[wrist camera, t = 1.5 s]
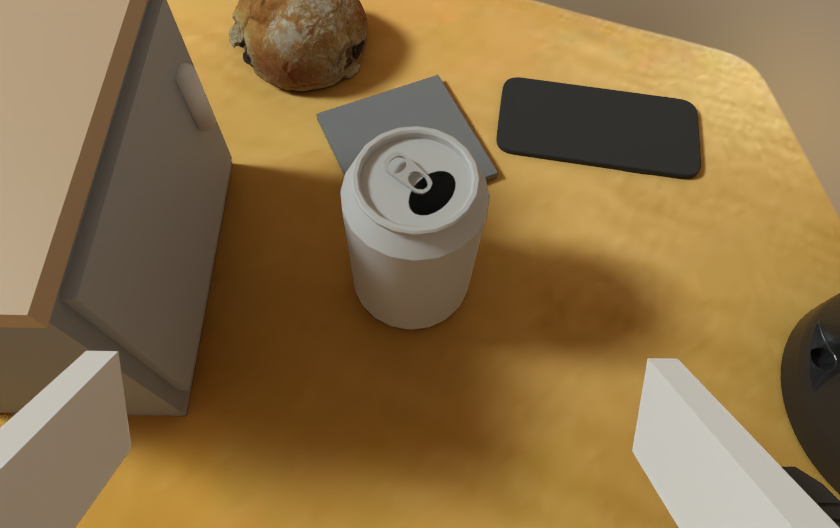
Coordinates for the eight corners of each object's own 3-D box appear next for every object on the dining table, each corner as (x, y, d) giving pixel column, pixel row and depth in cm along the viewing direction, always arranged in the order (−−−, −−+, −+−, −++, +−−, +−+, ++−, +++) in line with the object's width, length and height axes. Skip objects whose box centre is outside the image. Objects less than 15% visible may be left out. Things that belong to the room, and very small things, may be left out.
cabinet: (254, 157, 43) (173, -68, 28) (210, 425, 34) (58, 315, 19) (57, 152, 43) (-136, -79, 27) (-36, 421, 34) (-394, 306, 19)
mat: (437, 80, 47) (437, 74, 46) (496, 177, 43) (497, 172, 42) (317, 119, 45) (316, 113, 44) (367, 224, 41) (367, 220, 40)
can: (422, 357, 37) (433, 273, 26) (330, 289, 38) (303, 185, 28) (490, 271, 39) (524, 163, 29) (400, 211, 41) (401, 89, 31)
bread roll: (325, 134, 49) (360, 80, 42) (204, 70, 46) (220, 0, 39) (361, 49, 53) (398, -13, 46) (253, -15, 50) (276, -91, 43)
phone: (504, 74, 47) (696, 100, 46) (503, 81, 48) (692, 107, 47) (495, 148, 44) (702, 178, 43) (493, 155, 44) (697, 184, 44)
